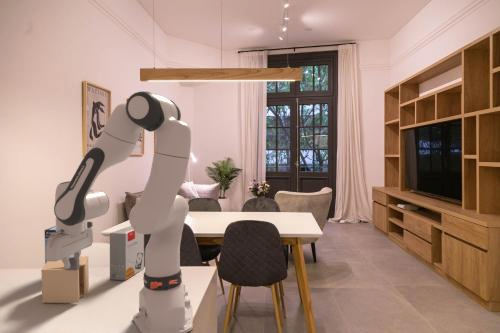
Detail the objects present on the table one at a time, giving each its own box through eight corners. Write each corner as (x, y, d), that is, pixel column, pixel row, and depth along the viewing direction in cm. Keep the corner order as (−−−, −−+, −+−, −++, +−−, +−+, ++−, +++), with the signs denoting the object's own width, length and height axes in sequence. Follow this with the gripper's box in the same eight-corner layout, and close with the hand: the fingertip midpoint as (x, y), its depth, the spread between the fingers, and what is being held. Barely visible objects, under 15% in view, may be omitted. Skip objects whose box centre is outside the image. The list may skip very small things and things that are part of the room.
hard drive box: (125, 281, 135) (124, 233, 134) (109, 280, 136) (108, 233, 136) (144, 268, 150) (144, 226, 150) (129, 267, 152) (129, 225, 151)
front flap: (77, 303, 113) (76, 258, 113) (41, 303, 114) (40, 258, 114) (80, 301, 115) (79, 257, 115) (44, 301, 116) (43, 257, 115)
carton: (86, 296, 121) (85, 264, 120) (42, 302, 115) (41, 269, 115) (88, 285, 131) (88, 255, 131) (48, 290, 126) (48, 260, 125)
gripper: (57, 234, 102) (59, 277, 103) (95, 221, 123) (96, 257, 123) (39, 233, 103) (40, 276, 104) (80, 221, 123) (81, 256, 124)
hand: (71, 266), depth 113 cm, fingers open, 3 cm apart
